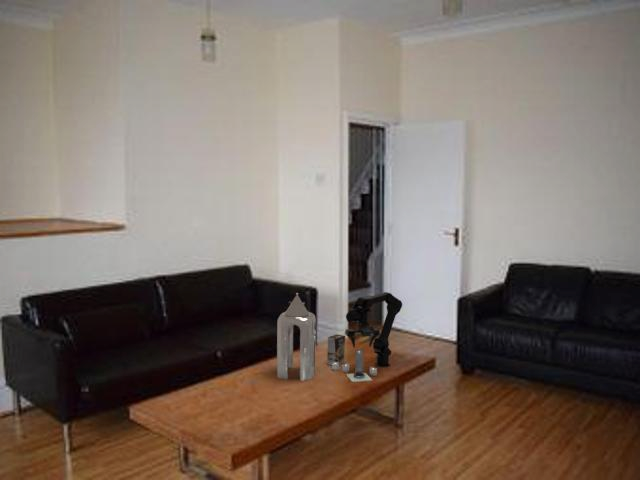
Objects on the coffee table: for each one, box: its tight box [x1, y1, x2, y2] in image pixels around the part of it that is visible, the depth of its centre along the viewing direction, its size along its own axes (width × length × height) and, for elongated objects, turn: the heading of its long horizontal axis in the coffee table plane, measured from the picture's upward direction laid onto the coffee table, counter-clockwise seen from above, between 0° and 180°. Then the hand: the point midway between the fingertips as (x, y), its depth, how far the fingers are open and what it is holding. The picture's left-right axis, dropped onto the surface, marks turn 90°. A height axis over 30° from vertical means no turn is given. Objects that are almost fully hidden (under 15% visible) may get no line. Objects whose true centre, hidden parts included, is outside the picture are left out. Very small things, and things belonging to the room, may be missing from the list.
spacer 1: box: [331, 361, 340, 372], centre depth 324 cm, size 4×4×4 cm
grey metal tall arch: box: [276, 292, 317, 381], centre depth 314 cm, size 20×20×45 cm
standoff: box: [353, 349, 365, 379], centre depth 310 cm, size 6×6×14 cm
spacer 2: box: [341, 362, 350, 373], centre depth 321 cm, size 4×4×4 cm
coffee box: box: [326, 333, 346, 366], centre depth 334 cm, size 9×6×16 cm
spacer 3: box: [369, 366, 378, 377], centre depth 315 cm, size 4×4×4 cm
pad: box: [346, 372, 373, 383], centre depth 311 cm, size 11×11×1 cm
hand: (362, 347), depth 322 cm, fingers open, 9 cm apart
